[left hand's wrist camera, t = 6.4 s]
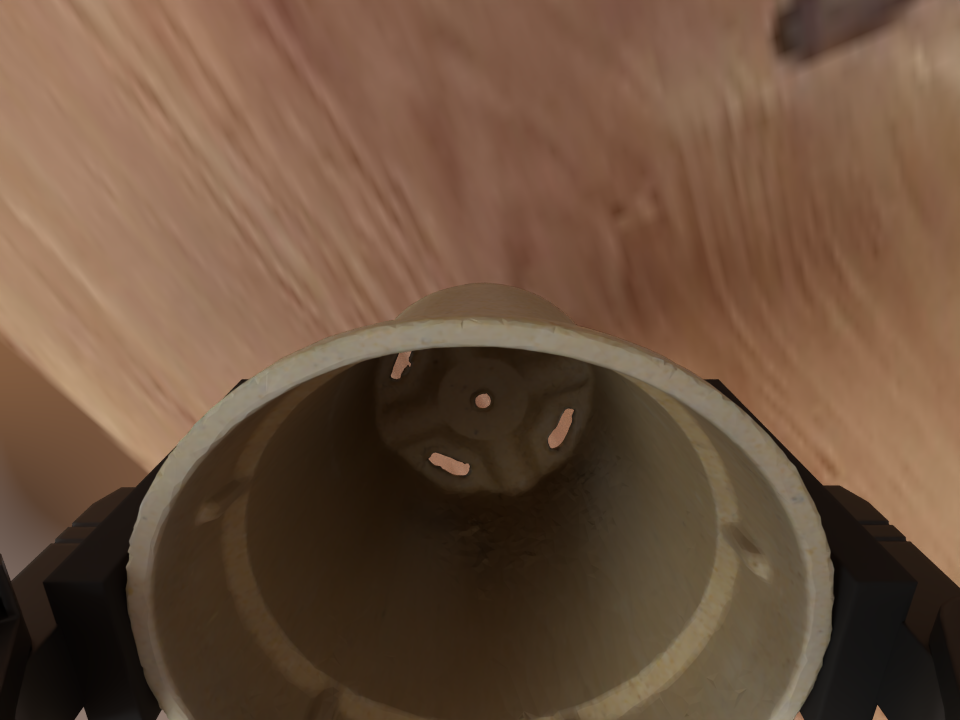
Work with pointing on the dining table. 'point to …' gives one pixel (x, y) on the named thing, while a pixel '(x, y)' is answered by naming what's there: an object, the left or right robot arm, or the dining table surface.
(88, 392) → the dining table surface
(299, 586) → the beige plant pot
